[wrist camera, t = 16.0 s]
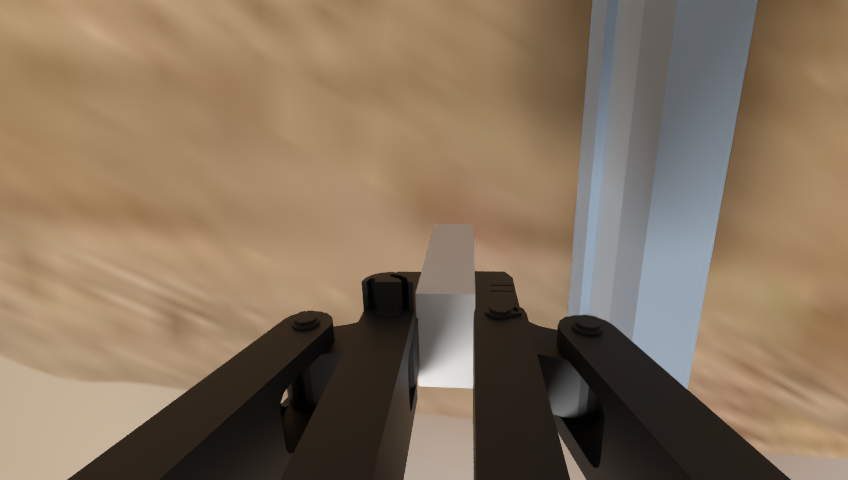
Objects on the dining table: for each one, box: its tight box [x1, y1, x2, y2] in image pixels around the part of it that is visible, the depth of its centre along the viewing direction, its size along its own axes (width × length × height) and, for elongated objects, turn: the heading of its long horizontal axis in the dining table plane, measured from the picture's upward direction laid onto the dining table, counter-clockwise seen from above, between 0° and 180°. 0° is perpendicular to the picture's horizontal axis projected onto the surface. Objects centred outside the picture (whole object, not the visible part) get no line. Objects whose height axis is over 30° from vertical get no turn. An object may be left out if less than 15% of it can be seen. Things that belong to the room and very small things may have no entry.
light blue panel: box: [567, 0, 758, 389], centre depth 17 cm, size 19×2×9 cm, turn 1°
